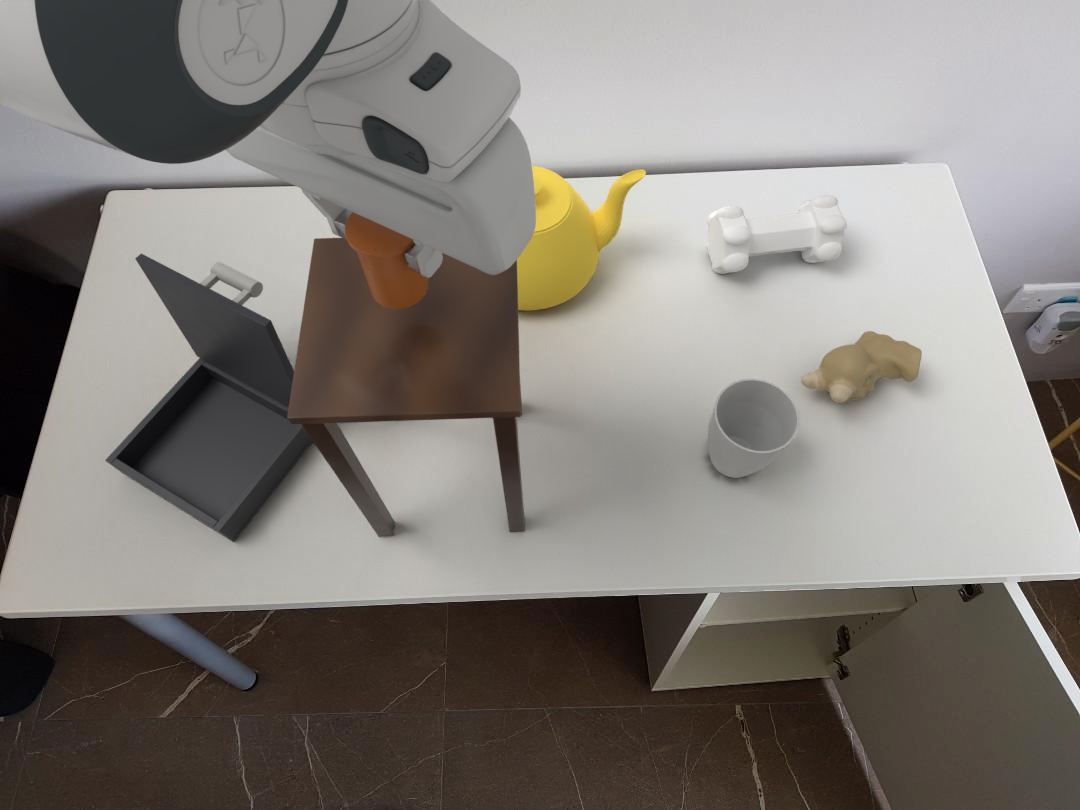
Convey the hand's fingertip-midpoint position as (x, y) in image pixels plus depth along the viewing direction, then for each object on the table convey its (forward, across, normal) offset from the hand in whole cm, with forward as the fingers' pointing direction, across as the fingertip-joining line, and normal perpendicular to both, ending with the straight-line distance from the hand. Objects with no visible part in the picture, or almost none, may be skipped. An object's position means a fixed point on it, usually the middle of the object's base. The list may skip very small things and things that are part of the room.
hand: (388, 249), depth 45 cm
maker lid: (+24, -23, -3) cm, 33 cm away
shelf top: (+9, 0, 0) cm, 9 cm away
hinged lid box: (+36, -23, -11) cm, 44 cm away
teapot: (+36, -6, +29) cm, 47 cm away
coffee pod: (+4, 0, 0) cm, 4 cm away
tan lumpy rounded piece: (+36, +34, +31) cm, 58 cm away
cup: (+36, +26, +16) cm, 47 cm away
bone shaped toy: (+36, +19, +44) cm, 60 cm away
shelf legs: (+36, 0, 0) cm, 36 cm away
